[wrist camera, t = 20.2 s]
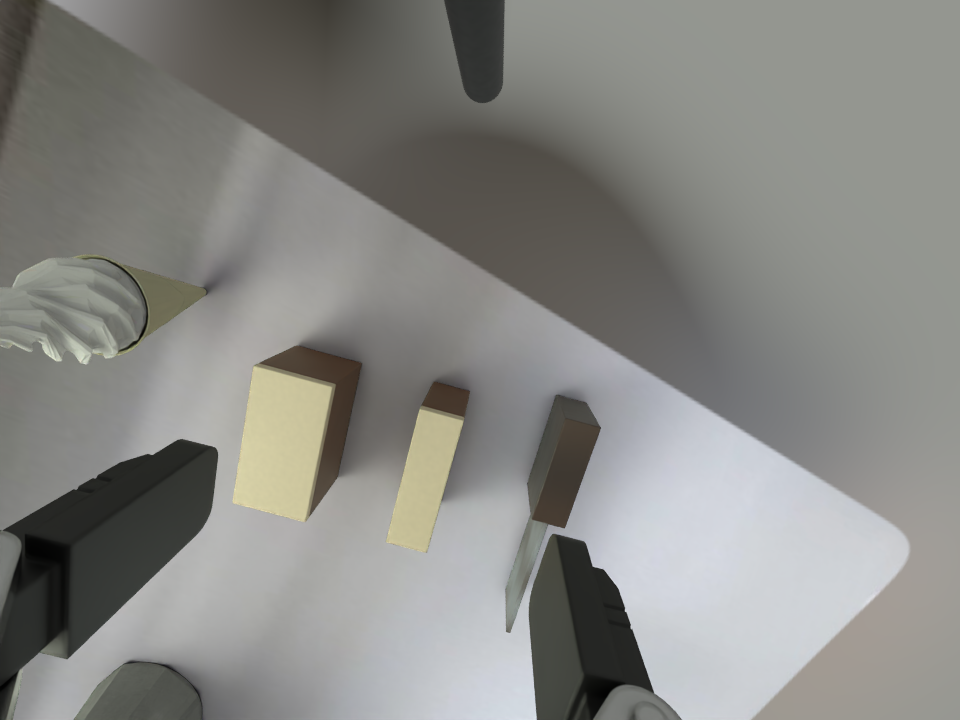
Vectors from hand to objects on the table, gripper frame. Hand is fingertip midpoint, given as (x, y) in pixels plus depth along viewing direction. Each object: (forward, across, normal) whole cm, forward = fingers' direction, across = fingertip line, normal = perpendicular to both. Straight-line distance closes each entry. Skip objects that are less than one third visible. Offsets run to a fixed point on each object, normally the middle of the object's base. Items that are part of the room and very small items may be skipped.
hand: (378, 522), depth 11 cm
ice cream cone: (+21, +17, +1) cm, 27 cm away
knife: (+20, -8, +10) cm, 24 cm away
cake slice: (+20, 0, +8) cm, 22 cm away
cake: (+20, +8, +8) cm, 23 cm away
